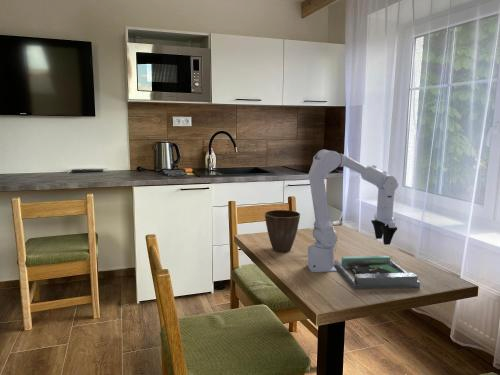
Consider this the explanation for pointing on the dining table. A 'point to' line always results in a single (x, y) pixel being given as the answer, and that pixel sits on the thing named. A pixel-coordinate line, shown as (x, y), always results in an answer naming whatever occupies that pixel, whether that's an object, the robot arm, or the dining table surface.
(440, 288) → the dining table surface
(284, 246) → the plant pot
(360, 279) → the shallow rimmed tray
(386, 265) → the disk drive
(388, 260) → the long teal rectangular bar
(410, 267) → the dining table surface
